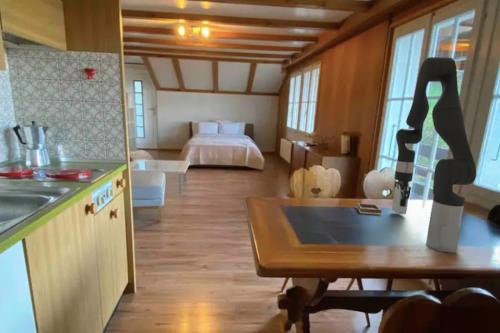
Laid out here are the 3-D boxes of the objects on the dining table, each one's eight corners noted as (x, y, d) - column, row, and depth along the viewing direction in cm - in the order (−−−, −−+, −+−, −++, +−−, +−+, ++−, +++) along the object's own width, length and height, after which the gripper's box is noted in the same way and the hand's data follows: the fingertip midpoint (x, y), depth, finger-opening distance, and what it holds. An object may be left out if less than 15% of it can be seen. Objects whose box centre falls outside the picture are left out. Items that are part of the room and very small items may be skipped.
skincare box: (406, 214, 134) (409, 190, 132) (397, 214, 134) (400, 190, 132) (399, 210, 140) (403, 187, 138) (391, 210, 140) (394, 186, 138)
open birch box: (380, 214, 136) (381, 210, 136) (360, 213, 138) (361, 208, 137) (375, 209, 145) (376, 204, 144) (356, 207, 146) (357, 203, 145)
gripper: (419, 174, 126) (414, 209, 128) (406, 168, 140) (402, 200, 143) (401, 173, 127) (397, 208, 130) (390, 167, 141) (386, 199, 144)
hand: (399, 204), depth 136 cm, fingers closed on skincare box, 6 cm apart
